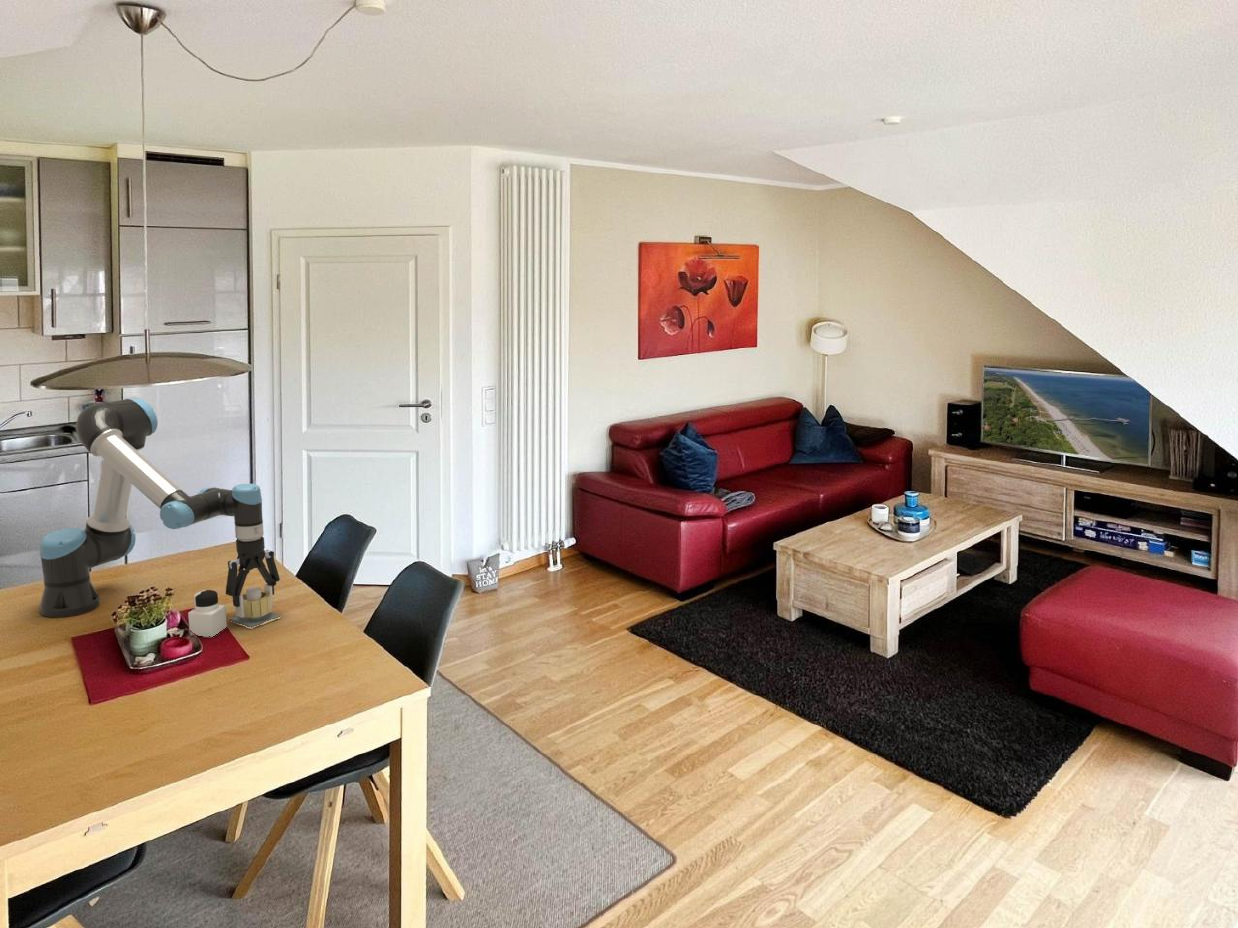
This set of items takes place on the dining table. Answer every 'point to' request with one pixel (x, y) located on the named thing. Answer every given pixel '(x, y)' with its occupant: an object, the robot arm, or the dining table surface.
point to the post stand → (251, 622)
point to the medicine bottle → (207, 614)
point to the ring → (257, 605)
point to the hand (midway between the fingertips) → (255, 611)
